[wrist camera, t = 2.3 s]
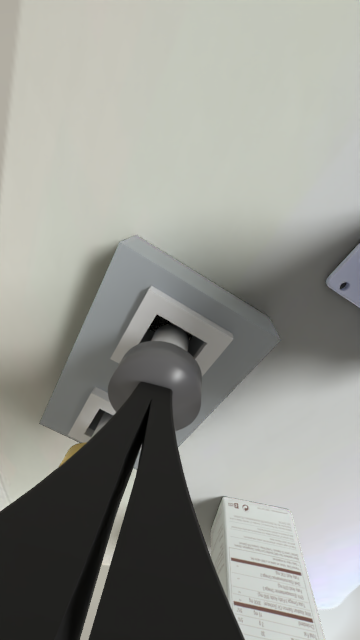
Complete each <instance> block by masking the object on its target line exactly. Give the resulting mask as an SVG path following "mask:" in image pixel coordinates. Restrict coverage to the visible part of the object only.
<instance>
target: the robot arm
mask: <svg viewBox="0 0 360 640" xmlns="http://www.w3.org/2000/svg"><path fill="white" fill-rule="evenodd" d="M345 282H346V286H345V287H344V288H342V289H340V285H341V284H342V283H345ZM326 284H327V286H328V287H329V288H331V289H332V290H334V291H335V292H336V293H338V294H339V295H341V296H342V297H344V298H345V299H347V300H348V301H350V302H351V303H353V304H354V305H356V306H357V307H359V308H360V243H359V244H358V245H357V246H356V247H355V248H354V249H353V251H352V252H351V253H350V254H349V255H348V256H347V257H346V258H345V259H344V260H343V261H342V262H341V263H340V265H339V266H338V267H337V268H336V269H335V270H334V271H333V272H332V273H331V274H330V275H329V277H328V278H327V281H326ZM172 394H173V391H172V390H171V389H170V388H166V387H162V386H158V385H154V384H150V383H146V382H140V383H139V384H138V385H137V387H136V388H135V390H134V391H133V393H132V394H131V395H130V397H129V398H128V399H127V400H126V402H125V403H124V404H123V405H122V406H121V407H120V409H119V410H118V411H117V412H116V413H115V414H114V415H113V416H112V418H111V419H110V420H109V421H108V422H107V423H106V424H105V425H104V426H103V427H102V428H101V429H100V430H99V431H98V432H97V433H96V434H95V435H94V436H93V437H92V438H91V439H90V440H89V441H88V442H87V443H86V444H85V445H84V446H83V447H81V448H80V449H79V450H78V451H77V452H76V453H75V454H74V455H72V456H71V457H70V458H69V459H68V460H67V461H66V462H64V463H63V464H62V465H61V466H60V467H58V468H57V469H56V470H55V471H53V472H52V473H51V474H50V475H49V476H47V477H46V478H45V479H44V480H42V481H41V482H40V483H38V484H37V485H36V486H35V487H33V488H32V489H31V490H29V491H28V492H27V493H25V494H24V495H22V496H21V497H20V498H18V499H17V500H16V501H14V502H13V503H11V504H10V505H9V506H7V507H6V508H4V509H3V510H2V511H0V640H80V636H81V633H82V630H83V626H84V623H85V619H86V616H87V612H88V609H89V605H90V602H91V598H92V595H93V591H94V588H95V584H96V581H97V578H98V574H99V571H100V567H101V564H102V561H103V557H104V554H105V550H106V547H107V543H108V540H109V537H110V533H111V530H112V526H113V523H114V520H115V516H116V514H117V511H118V508H119V505H120V502H121V499H122V497H123V494H124V491H125V488H126V486H127V483H128V480H129V478H130V475H131V472H132V470H133V467H134V464H135V462H136V459H137V456H138V454H139V451H140V448H141V452H140V458H139V463H138V468H137V474H136V478H135V481H134V485H133V488H132V492H131V495H130V499H129V502H128V506H127V509H126V513H125V516H124V520H123V523H122V527H121V530H120V534H119V537H118V541H117V544H116V547H115V551H114V554H113V558H112V561H111V565H110V568H109V572H108V575H107V579H106V582H105V585H104V589H103V592H102V596H101V599H100V603H99V606H98V609H97V613H96V616H95V620H94V623H93V627H92V630H91V634H90V637H89V640H245V638H244V636H243V634H242V632H241V629H240V627H239V625H238V622H237V620H236V618H235V616H234V613H233V611H232V608H231V606H230V604H229V601H228V599H227V597H226V594H225V592H224V589H223V587H222V584H221V582H220V579H219V577H218V574H217V572H216V569H215V567H214V564H213V562H212V559H211V557H210V554H209V551H208V548H207V545H206V542H205V540H204V537H203V534H202V531H201V528H200V526H199V523H198V520H197V517H196V514H195V511H194V508H193V504H192V501H191V498H190V495H189V491H188V488H187V484H186V480H185V477H184V473H183V469H182V464H181V460H180V455H179V451H178V445H177V440H176V434H175V427H174V420H173V408H172ZM141 446H142V447H141Z"/></svg>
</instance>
